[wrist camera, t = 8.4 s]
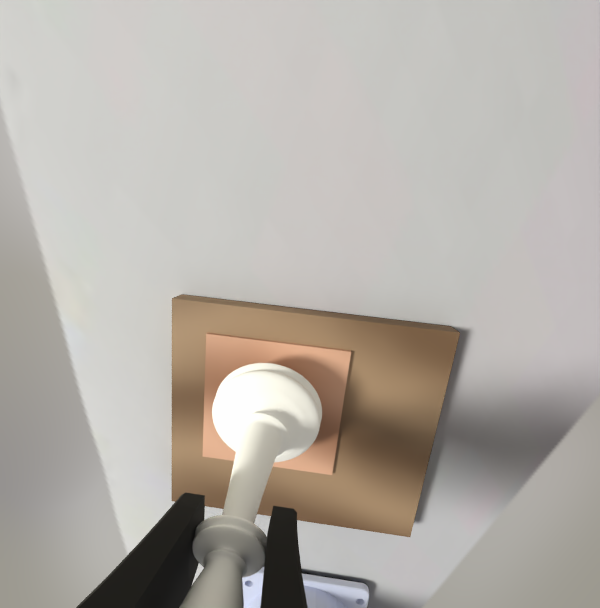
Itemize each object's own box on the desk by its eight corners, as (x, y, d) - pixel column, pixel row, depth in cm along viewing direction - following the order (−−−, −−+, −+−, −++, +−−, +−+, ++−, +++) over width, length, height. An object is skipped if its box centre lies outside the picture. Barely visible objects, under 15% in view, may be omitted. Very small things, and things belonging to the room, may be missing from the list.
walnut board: (404, 519, 17) (411, 540, 16) (179, 486, 18) (170, 504, 16) (450, 326, 14) (462, 334, 13) (181, 294, 15) (169, 299, 14)
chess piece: (334, 441, 13) (358, 997, 4) (238, 459, 14) (70, 954, 5) (303, 350, 12) (228, 872, 3) (198, 375, 13) (-147, 841, 3)
